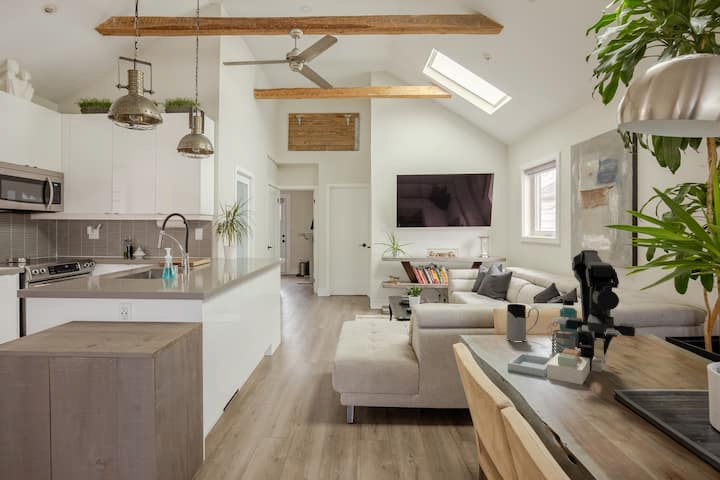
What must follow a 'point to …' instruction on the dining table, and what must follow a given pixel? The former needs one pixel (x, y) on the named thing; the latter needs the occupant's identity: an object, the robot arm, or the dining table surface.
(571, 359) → the sage tile
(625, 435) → the dining table surface
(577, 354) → the terracotta tile
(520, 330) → the glass holder
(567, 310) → the beverage bottle
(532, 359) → the box
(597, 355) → the scraper
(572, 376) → the cream riser block
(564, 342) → the french press
